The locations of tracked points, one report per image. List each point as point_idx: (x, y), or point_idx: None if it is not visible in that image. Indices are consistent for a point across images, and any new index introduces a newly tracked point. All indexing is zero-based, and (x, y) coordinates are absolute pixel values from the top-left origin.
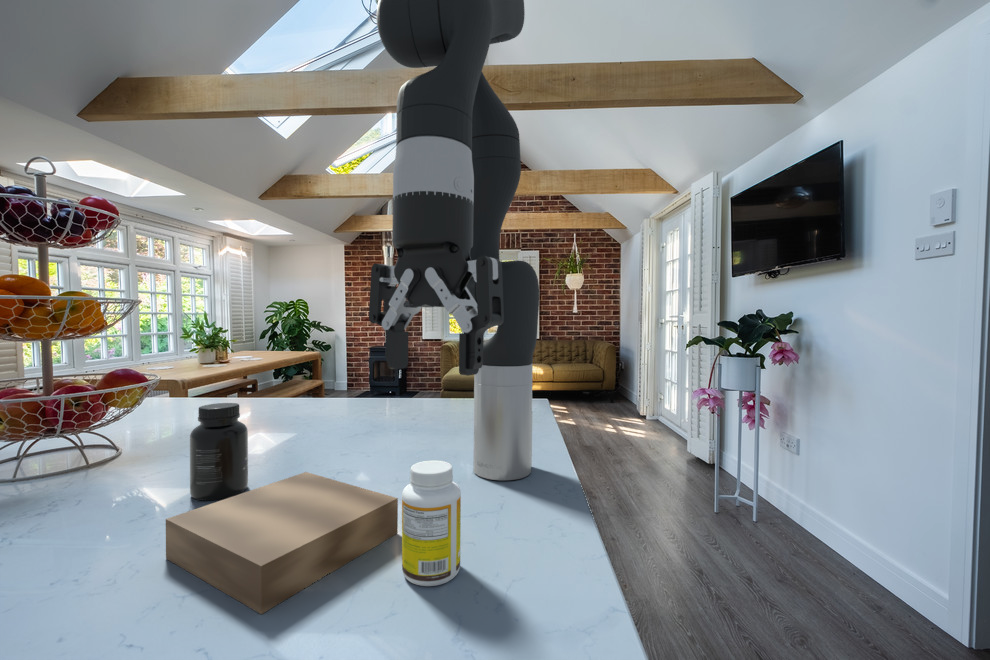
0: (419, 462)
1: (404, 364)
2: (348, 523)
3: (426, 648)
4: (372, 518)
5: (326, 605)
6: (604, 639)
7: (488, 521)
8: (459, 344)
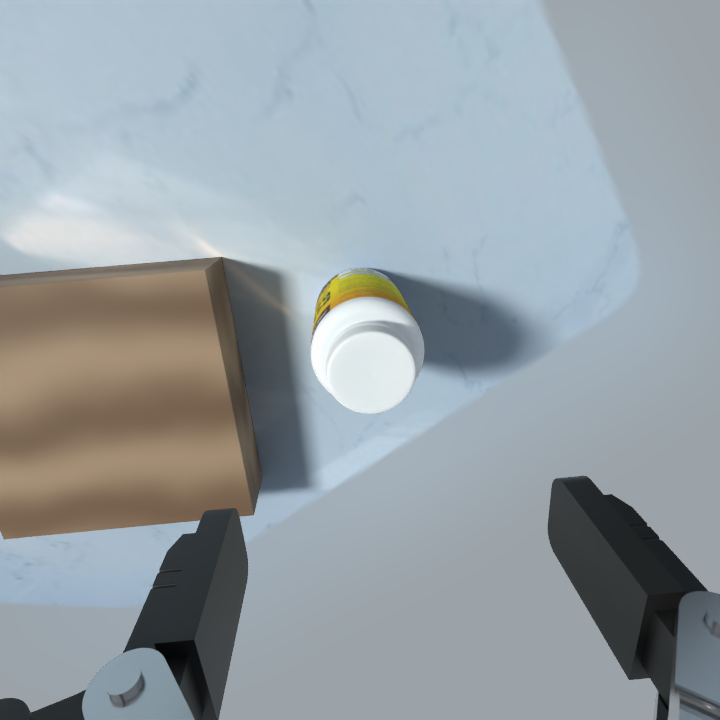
0: (330, 371)
1: (235, 527)
2: (228, 389)
3: (450, 410)
4: (222, 334)
5: (304, 430)
6: (618, 289)
7: (327, 97)
8: (603, 634)
